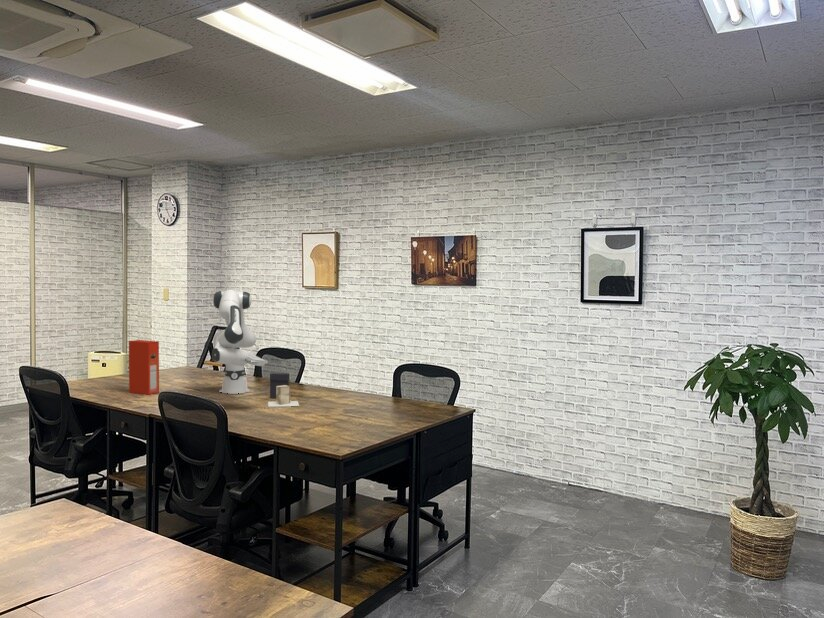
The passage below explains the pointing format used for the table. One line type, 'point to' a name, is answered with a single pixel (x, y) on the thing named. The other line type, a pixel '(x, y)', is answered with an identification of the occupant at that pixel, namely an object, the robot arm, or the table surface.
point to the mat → (292, 403)
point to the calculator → (277, 382)
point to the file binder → (144, 367)
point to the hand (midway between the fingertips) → (262, 359)
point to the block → (283, 395)
